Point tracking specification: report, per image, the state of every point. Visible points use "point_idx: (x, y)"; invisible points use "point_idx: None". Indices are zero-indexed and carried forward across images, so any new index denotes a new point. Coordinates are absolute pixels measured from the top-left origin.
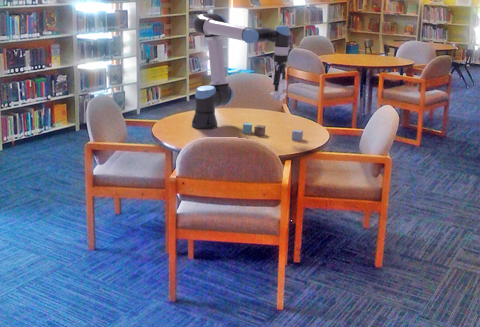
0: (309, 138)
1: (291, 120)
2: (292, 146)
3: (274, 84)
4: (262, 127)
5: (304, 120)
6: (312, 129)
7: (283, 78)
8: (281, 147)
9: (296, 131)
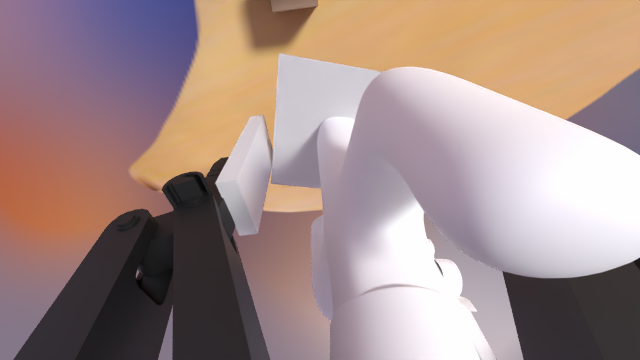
0: None
1: (627, 15)
2: None
3: (182, 202)
4: (274, 7)
5: (624, 70)
6: None
7: None
8: (190, 143)
9: None
